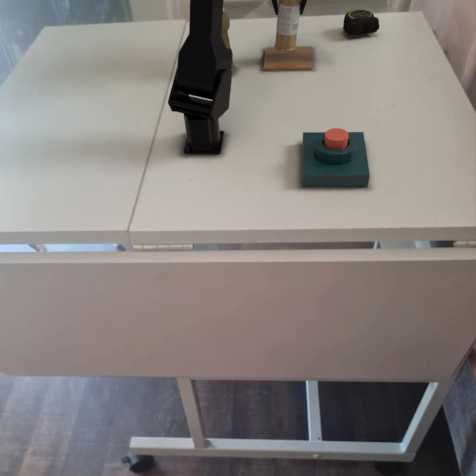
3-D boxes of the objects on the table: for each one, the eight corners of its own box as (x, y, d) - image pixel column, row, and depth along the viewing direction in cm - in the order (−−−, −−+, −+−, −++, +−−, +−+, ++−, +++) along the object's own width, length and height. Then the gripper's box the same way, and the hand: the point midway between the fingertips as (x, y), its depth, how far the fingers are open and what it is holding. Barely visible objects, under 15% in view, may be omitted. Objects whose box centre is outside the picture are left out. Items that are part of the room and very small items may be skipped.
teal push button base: (367, 187, 74) (371, 164, 71) (302, 187, 75) (303, 164, 72) (361, 143, 81) (365, 121, 78) (302, 143, 82) (303, 122, 79)
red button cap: (347, 151, 74) (349, 140, 72) (324, 151, 74) (325, 140, 73) (346, 138, 76) (347, 127, 75) (323, 138, 76) (324, 128, 75)
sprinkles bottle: (285, 42, 102) (293, -34, 91) (300, 50, 100) (309, -27, 89) (269, 47, 100) (275, -30, 90) (284, 55, 98) (291, -23, 87)
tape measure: (348, 41, 106) (350, 22, 103) (338, 29, 110) (340, 11, 107) (378, 36, 106) (381, 18, 103) (366, 24, 110) (369, 6, 108)
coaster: (311, 70, 98) (312, 67, 98) (263, 70, 99) (263, 68, 99) (311, 48, 104) (311, 46, 104) (265, 49, 105) (265, 47, 105)
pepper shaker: (222, 81, 97) (218, 21, 89) (200, 74, 100) (193, 15, 91) (240, 69, 100) (237, 10, 92) (218, 62, 103) (213, 4, 94)
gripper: (344, -101, 87) (334, -2, 99) (241, -96, 89) (245, 0, 101) (347, -85, 80) (337, 19, 92) (236, -80, 82) (241, 21, 94)
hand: (289, 14), depth 95 cm, fingers closed on sprinkles bottle, 4 cm apart
